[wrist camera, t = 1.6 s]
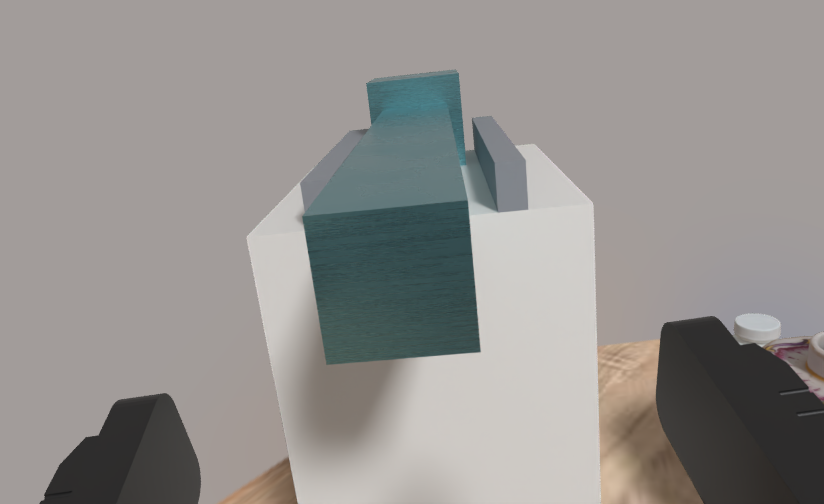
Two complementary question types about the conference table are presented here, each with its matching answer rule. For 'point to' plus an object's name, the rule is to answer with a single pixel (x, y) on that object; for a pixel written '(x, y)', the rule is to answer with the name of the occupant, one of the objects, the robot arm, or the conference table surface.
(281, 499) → the conference table surface
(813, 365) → the decorative jar
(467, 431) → the tall white pedestal box
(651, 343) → the conference table surface
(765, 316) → the supplement bottle
